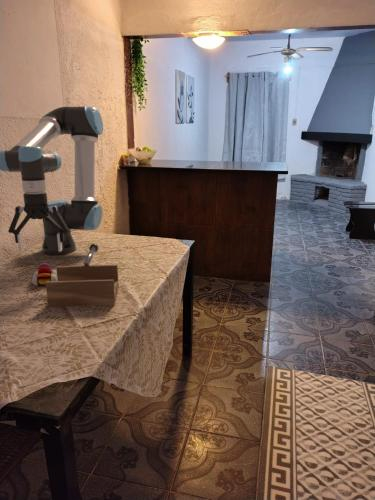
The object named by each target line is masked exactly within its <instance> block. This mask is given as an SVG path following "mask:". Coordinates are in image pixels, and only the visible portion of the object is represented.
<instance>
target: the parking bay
mask: <svg viewBox="0 0 375 500" xmlns="http://www.w3.org/2000/svg"><path fill="white" fill-rule="evenodd" d="M55 271H57V281H46V284H45V290H46V297H47V298H46V299H47V306H48V308H63V307H65V308H66V307H67V308H68V307H69V308H70V307H91V306H92V307H93V306H94V307H95V306H96V307H97V306H116V301H117V297H118V292H119V291H118V290H119V284H120V283H119V272H118V271H119V269H118V264H98V265H97V264H94V265H93V264H92V265H90V264H89V265H88V266H85V265H62V266H61V265H60V266H59V265H58V266H56V268H55Z"/></svg>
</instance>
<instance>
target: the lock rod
mask: <svg viewBox="0 0 375 500" xmlns="http://www.w3.org/2000/svg"><path fill="white" fill-rule="evenodd" d="M88 250H89V251H88V253H87V255H86V257H85V259H84V261H83V262H82V263H83V266H88V265H90V263H91V261H92V260H93V257H94V255H95V253H97V252H98V250H99V245H98V244H97V243H91V244H90V246H89V249H88Z"/></svg>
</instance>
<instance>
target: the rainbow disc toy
mask: <svg viewBox="0 0 375 500" xmlns="http://www.w3.org/2000/svg"><path fill="white" fill-rule="evenodd" d="M46 281H58V279H57V270H56V269H52V266H51V265H49V264H48V263H41V264H40V265H38V267H37V270H35V272H33V275H32V277H31V283H32V284H33V285H34V286H36V287H38V286H39V284H40V285H46Z"/></svg>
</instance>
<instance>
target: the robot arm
mask: <svg viewBox="0 0 375 500" xmlns="http://www.w3.org/2000/svg"><path fill="white" fill-rule="evenodd" d="M103 130H104V121H103V119H102V114H101V113H100V111H99V109H98V108H97V107H94V106H88V105H86V106H60V107H57V108H54V109H53V110H50V111H48V112H47V113H46V114H45V115H43V116H42V117H41V118H40V119H39V121H38V124H37V125H36V126H35V127H34V128H33V129H32V130H30V132H28V133H27V134H26V135H25V136H24V137H23V138H22V139H21V140H20V141H18V142H17V143H16V144H15V145H14V146H13V147H12V148H11V149H9V150H7V149H5V150H0V171H2V172H9V173H12V172H14V173H17V172H19V173H20V177H21V185H22V192H23V194H22V195H23V204H24V206H21V205H17V206H16V207H15V208H14V212H15V213H14V216H13V217H12V221H11V223H10V225H9V229H8V233H9V234H13V235H14V240H15V241H14V242H15V243H16V244H18V251H19V253H23V252H24V251H25V247H24V239H23V238H24V237H23V232H21V231H22V230H23V228H24V227H25V226H26V225H27V223H28V222H29V220H30V219H32V220H37V219H38V220H42V225H43V233H44V236H43V241H42V245H41V250H42V251H41V252H42V253H43V254H46V255H48V256H49V255H50V256H54V255H56V256H58V255H59V256H60V255H65V254H66V255H67V254H70V253H73V252H75V251H77V250H76V249H77V245H76V242H75V240H74V238H73V235H72V231H71V230H74V231H76V230H77V231H95V230H97V229H98V228H99V227H100V225H101V223H102V219H103V207H102V206H101V205H100V204H99V203H98V199H97V198H96V197H95V162H96V161H95V159H96V158H95V157H96V156H95V153H96V152H95V149H96V148H95V144H96V142H97V141H98V140H99V136H100V135H102V134H103ZM60 135H70V138H71V139H72V140H73V141H74V197H72V198H71V199H70V203H69V201H68V200H67V199H59V200H53V201H48V195H47V192H46V191H47V185H46V175H45V174H46V173H53V172H55V171H56V172H57V171H58V170H59V169H60V168H61V167H62V158H61V156H60V155H59V153H58V152H56V151H53V150H43V149H44V148H45V146H46V145H47V144H48V143H50V142H51V140H52V139H56V138H58V137H59V136H60ZM23 212H24V213H25V214H26V215H25V217H23V218H24V219H23V220H22V221H21V222H20V223H19V225H18V226H17V224H18V221H19V220H20V216H21V214H22V213H23Z"/></svg>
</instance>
